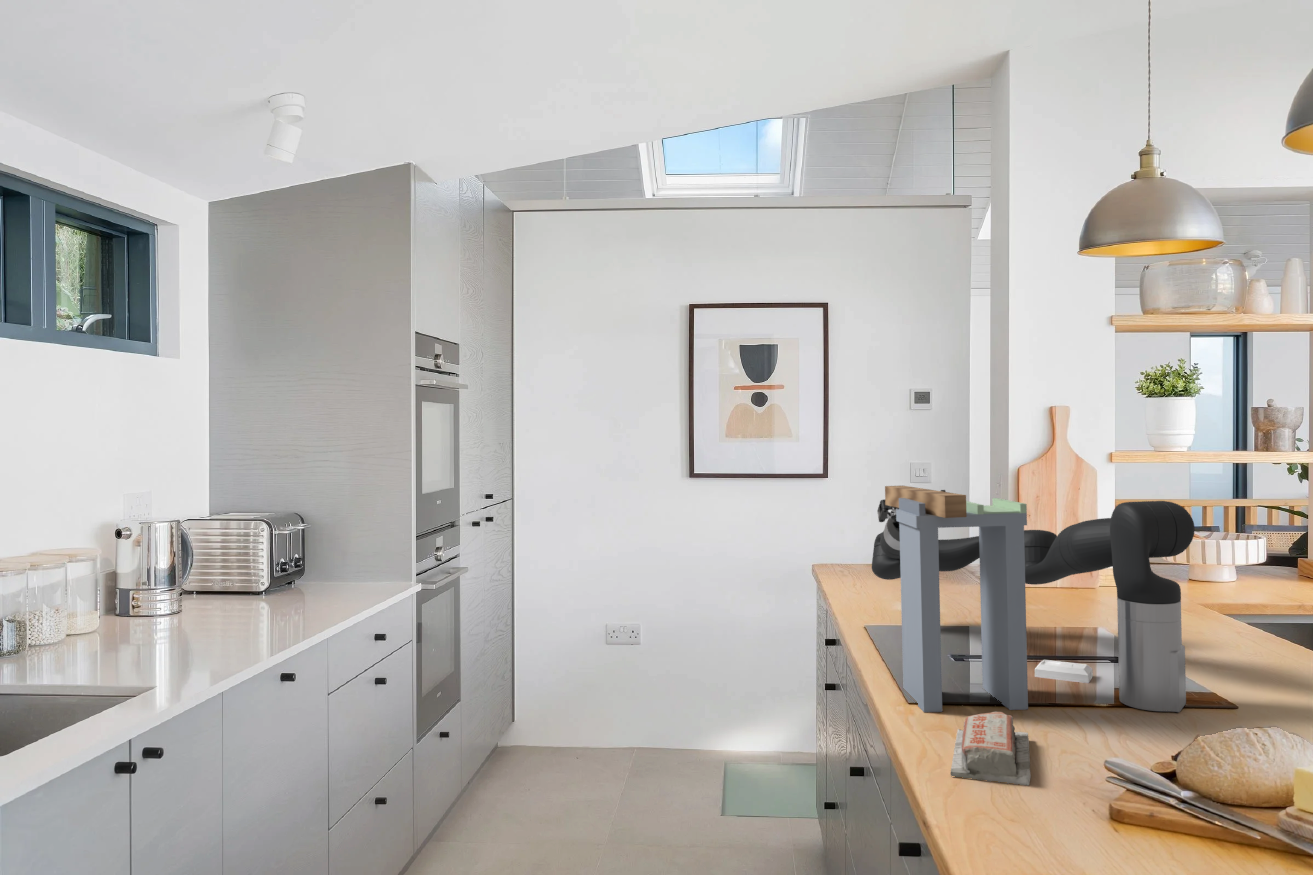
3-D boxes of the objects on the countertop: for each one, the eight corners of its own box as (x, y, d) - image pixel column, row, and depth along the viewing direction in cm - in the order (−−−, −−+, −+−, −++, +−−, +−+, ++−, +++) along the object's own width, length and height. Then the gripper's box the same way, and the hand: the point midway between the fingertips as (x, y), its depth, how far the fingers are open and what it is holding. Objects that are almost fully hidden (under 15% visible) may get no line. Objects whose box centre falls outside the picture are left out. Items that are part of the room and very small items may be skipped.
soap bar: (1088, 685, 160) (1088, 670, 160) (1034, 678, 165) (1034, 664, 165) (1092, 678, 164) (1092, 664, 164) (1040, 672, 169) (1039, 658, 169)
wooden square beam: (885, 504, 168) (884, 486, 168) (903, 504, 168) (903, 485, 168) (945, 517, 142) (944, 495, 142) (966, 517, 142) (966, 495, 142)
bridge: (900, 690, 158) (895, 498, 158) (1002, 688, 159) (998, 495, 158) (920, 712, 146) (916, 503, 146) (1031, 709, 147) (1026, 500, 146)
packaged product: (1030, 752, 116) (949, 744, 119) (1031, 789, 116) (950, 780, 119) (1027, 710, 133) (956, 704, 136) (1028, 743, 133) (957, 736, 136)
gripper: (868, 511, 193) (883, 478, 179) (935, 510, 193) (955, 476, 179) (873, 544, 189) (889, 512, 175) (941, 543, 189) (962, 511, 175)
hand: (922, 494), depth 177 cm, fingers open, 8 cm apart
